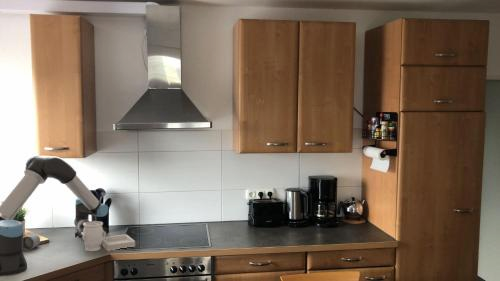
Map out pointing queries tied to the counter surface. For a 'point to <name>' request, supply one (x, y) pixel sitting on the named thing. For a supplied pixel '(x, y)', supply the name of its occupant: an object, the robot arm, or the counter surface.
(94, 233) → the jar
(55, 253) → the counter surface
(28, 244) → the ceramic mug
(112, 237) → the holder
